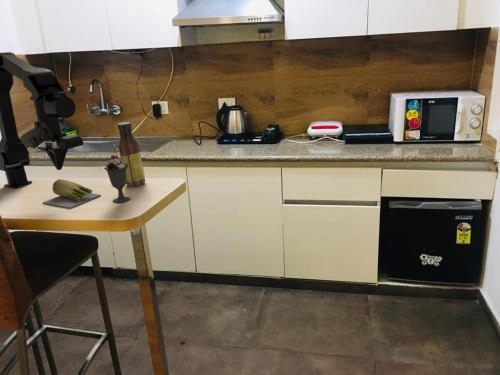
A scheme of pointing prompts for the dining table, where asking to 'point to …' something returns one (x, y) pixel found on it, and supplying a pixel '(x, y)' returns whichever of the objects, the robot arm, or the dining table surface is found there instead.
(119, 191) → the sundae
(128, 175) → the sauce bottle
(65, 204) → the mat
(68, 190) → the fennel bulb
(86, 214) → the dining table surface
